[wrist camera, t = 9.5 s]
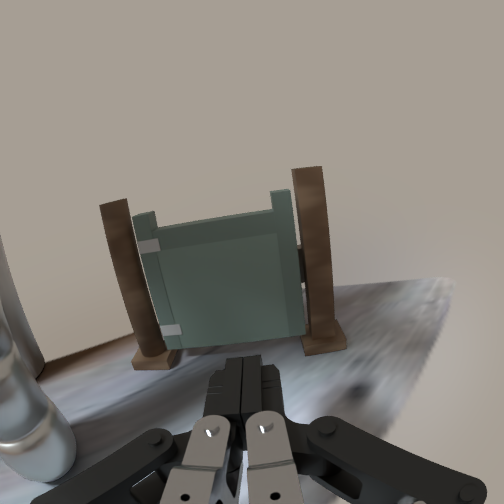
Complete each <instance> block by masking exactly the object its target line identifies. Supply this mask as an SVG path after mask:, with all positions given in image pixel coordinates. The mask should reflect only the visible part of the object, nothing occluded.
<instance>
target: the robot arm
mask: <svg viewBox="0 0 504 504" xmlns="http://www.w3.org/2000/svg"><path fill="white" fill-rule="evenodd" d="M0 299H1V303H2V307H3V311H4V314H5V317H6V320H7V323H8V325H9V328H10V331H11V333H12V339H13V341H14V342H15V344H16V346H17V348H18V351H19V353H20V355H21V357H22V359H23V361H24V362H25V364H26V366H27V367H28V369H29V371H30V372H31V374H32V375H33V377H34V379H35V378H36V377H37V376H38V375H39V374H40V373H41V371H42V369H43V367H44V363H45V361H44V358H43V355H42V353H41V351H40V349H39V347H38V345H37V342H36V340H35V338H34V336H33V333H32V331H31V328H30V326H29V324H28V321H27V319H26V316H25V313H24V311H23V308H22V305H21V303H20V300H19V297H18V294H17V291H16V288H15V285H14V283H13V279H12V276H11V273H10V270H9V266H8V263H7V259H6V255H5V252H4V248H3V244H2V241H1V236H0ZM243 451H248V463H249V467H248V468H247V480H248V493H249V504H304V501H303V496H302V492H301V488H300V483H299V479H298V474H303V475H310V477H311V478H312V479H313V480H314V481H316V482H317V483H319V484H320V485H322V486H323V487H325V488H326V489H328V490H330V491H331V492H333V493H334V494H336V495H337V496H339V497H341V498H342V499H344V500H346V501H347V502H349V503H351V504H484V502H485V500H486V497H487V489H486V486H485V484H484V483H483V482H482V481H481V480H480V479H477V478H475V477H472V476H469V475H466V474H463V473H461V472H458V471H455V470H452V469H450V468H447V467H444V466H442V465H439V464H437V463H434V462H431V461H429V460H427V459H424V458H422V457H420V456H417V455H415V454H412V453H410V452H408V451H405V450H403V449H401V448H399V447H397V446H394V445H392V444H390V443H388V442H386V441H384V440H382V439H380V438H377V437H375V436H373V435H371V434H369V433H367V432H365V431H363V430H361V429H359V428H357V427H355V426H353V425H351V424H349V423H347V422H346V421H344V420H342V419H340V418H337V417H333V416H324V417H320V418H317V419H315V420H314V421H312V422H311V423H310V424H299V423H295V422H293V421H291V420H289V419H288V418H287V417H286V416H285V412H284V403H283V394H282V387H281V380H280V373H279V370H278V369H277V368H276V367H275V365H274V364H272V365H265V366H263V365H262V359H261V355H255V356H247V357H244V358H243V357H238V358H229V359H226V365H225V370H218V371H215V373H214V374H213V375H212V376H211V378H210V381H209V388H208V392H207V397H206V402H205V407H204V413H203V418H201V419H200V420H198V421H197V422H196V423H195V425H194V427H193V430H191V431H189V432H186V433H182V434H178V435H174V436H172V434H171V433H170V432H169V431H167V430H165V429H161V428H156V429H151V430H148V431H146V432H145V433H143V434H142V435H140V436H139V437H137V438H136V439H134V440H133V441H131V442H130V443H128V444H127V445H125V446H124V447H122V448H121V449H119V450H117V451H116V452H114V453H113V454H111V455H110V456H108V457H106V458H105V459H103V460H102V461H100V462H98V463H97V464H95V465H93V466H92V467H90V468H88V469H87V470H85V471H83V472H82V473H80V474H78V475H77V476H75V477H73V478H71V479H70V480H68V481H66V482H64V483H62V484H61V485H59V486H57V487H55V488H53V489H51V490H50V491H48V492H46V493H44V494H42V495H40V496H38V497H36V498H35V499H33V500H32V502H31V503H30V504H239V495H240V487H241V480H242V473H243V462H242V460H243ZM153 471H155V472H153ZM152 472H153V473H152ZM151 473H152V474H151ZM149 474H150V475H149ZM148 475H149V476H148ZM146 476H148V477H146ZM145 477H146V478H145ZM144 478H145V479H144ZM142 479H143V480H142ZM141 480H142V481H141ZM139 481H140V482H139ZM138 482H139V483H138ZM136 483H138V484H136ZM135 484H136V485H135ZM133 485H135V486H133ZM132 486H133V487H132Z"/></svg>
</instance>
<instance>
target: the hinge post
mask: <svg viewBox="0 0 504 504" xmlns="http://www.w3.org/2000/svg"><path fill="white" fill-rule="evenodd" d="M99 206H100V211H101V216H102V220H103V225H104V229H105V234H106V238H107V242H108V246H109V250H110V254H111V258H112V262H113V266H114V269H115V273H116V276H117V280H118V284H119V287H120V290H121V293H122V297H123V300H124V303H125V307H126V310H127V313H128V316H129V319H130V322H131V324H132V328H133V330H134V333H135V336H136V339H137V342H138V344H139V349H138V351H137V352H136V354H135V356H134V357H133V359H132V361H131V363H132V365H133V367H134V370H168V369H170V367H171V365H172V362H173V360H174V357H175V355H176V352H177V350H178V349H172V350H168V349H167V346H166V343H165V340H163V338H162V334H161V331H160V328H159V325H158V322H157V319H156V315H155V312H154V309H153V305H152V302H151V298H150V295H149V291H148V288H147V284H146V280H145V276H144V273H143V269H142V265H141V261H140V257H139V253H138V249H137V244H136V240H135V236H134V232H133V227H132V222H131V217H130V212H129V208H128V203H127V199H121V200H117V201H113V202H109V203H105V204H102V205H99Z"/></svg>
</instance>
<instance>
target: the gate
mask: <svg viewBox="0 0 504 504" xmlns="http://www.w3.org/2000/svg"><path fill="white" fill-rule="evenodd" d="M270 196H271V202H272V209H270V210H263V211H256V212H249V213H242V214H236V215H230V216H223V217H217V218H211V219H205V220H198V221H193V222H187V223H182V224H175V225H170V226H164V227H159V228H158V226H157V222H156V216H155V212H154V211H151V212H146V213H141V214H138V215H135V216H133V217H132V220H133V225H134V229H135V233H136V238H137V244H138V248H139V252H140V255H141V259H142V263H143V267H144V271H145V275H146V279H147V282H148V286H149V290H150V293H151V297H152V300H153V304H154V307H155V310H156V314H157V317H158V321H159V324H160V328H161V331H162V334H163V337H164V340H165V343H166V346H167V349H168V350H172V349H183V348H195V347H207V346H218V345H228V344H237V343H246V342H254V341H262V340H270V339H277V338H284V337H293V336H299V335H305V334H306V331H305V319H304V308H303V297H302V287H301V277H300V267H299V258H298V249H297V241H296V233H295V224H294V216H293V208H292V201H291V193H290V190H289V189H284V190H277V191H270Z"/></svg>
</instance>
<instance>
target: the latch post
mask: <svg viewBox="0 0 504 504" xmlns="http://www.w3.org/2000/svg"><path fill="white" fill-rule="evenodd" d="M292 177H293V185H294V192H295V200H296V208H297V216H298V223H299V231H300V240H301V245H297V249H298V258H299V267H300V277H301V283H303V282H305V289H306V300H307V312H308V324H306V325H305V331H306V334H305V335H300V337H301V341H302V345H303V349H304V353H305V356H310V355H316V354H322V353H327V352H333V351H338V350H343V349H346V337H345V335H344V333H343V331H342V329H341V327H340V325H339V323H338V321H337V319H336V320H335V314H334V292H333V275H332V261H331V249H330V238H329V237H330V236H329V227H328V226H329V225H328V215H327V206H326V197H325V188H324V180H323V172H322V166H314V167H305V168H296V169H292Z"/></svg>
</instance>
